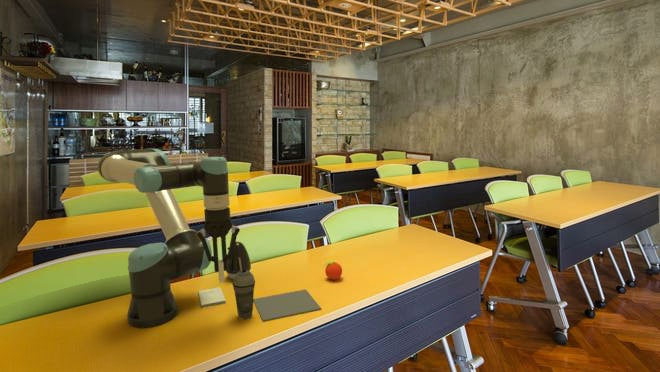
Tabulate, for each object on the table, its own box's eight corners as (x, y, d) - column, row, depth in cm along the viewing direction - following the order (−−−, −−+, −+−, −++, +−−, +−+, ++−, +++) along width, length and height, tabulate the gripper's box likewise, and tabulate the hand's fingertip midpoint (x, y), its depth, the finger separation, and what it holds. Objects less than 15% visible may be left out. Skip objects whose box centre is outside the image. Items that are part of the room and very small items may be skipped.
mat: (262, 321, 119) (262, 320, 119) (253, 300, 134) (253, 299, 133) (321, 309, 127) (321, 308, 126) (305, 290, 141) (305, 289, 141)
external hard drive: (201, 309, 129) (198, 294, 140) (225, 304, 132) (220, 290, 143) (201, 304, 128) (198, 290, 139) (225, 300, 132) (220, 286, 143)
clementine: (322, 282, 148) (322, 265, 147) (323, 275, 155) (322, 259, 154) (342, 282, 148) (342, 265, 147) (342, 275, 155) (342, 259, 154)
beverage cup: (251, 322, 119) (248, 262, 115) (230, 320, 120) (226, 261, 117) (260, 311, 126) (257, 254, 122) (239, 309, 127) (237, 253, 124)
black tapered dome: (220, 279, 152) (218, 243, 149) (237, 270, 161) (236, 236, 158) (239, 284, 147) (237, 247, 145) (256, 275, 156) (254, 240, 154)
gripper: (194, 212, 108) (200, 288, 112) (240, 207, 113) (244, 281, 117) (194, 207, 115) (199, 279, 119) (237, 203, 120) (240, 273, 123)
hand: (221, 280), depth 118 cm, fingers closed
